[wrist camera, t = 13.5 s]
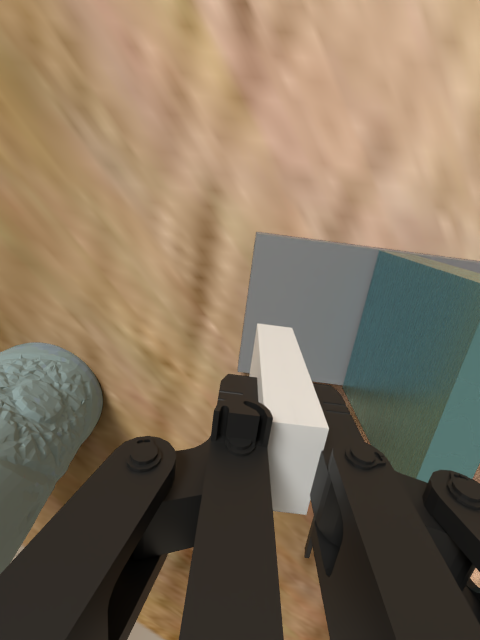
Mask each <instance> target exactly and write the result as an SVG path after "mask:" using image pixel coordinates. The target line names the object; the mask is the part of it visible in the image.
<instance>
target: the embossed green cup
mask: <svg viewBox="0 0 480 640" xmlns="http://www.w3.org/2000/svg"><path fill="white" fill-rule="evenodd" d="M102 407H103V397H102V391H101V388H100V385H99V382H98V380H97V378H96V376H95V375H94V373H93V372H92V371H91V369H90V368H89V367H88V366H87V365H86V364H85V363H84V362H83V361H82V360H81V359H80V358H78V357H77V356H75V355H74V354H72V353H71V352H69V351H67V350H65V349H63V348H61V347H58V346H55V345H51V344H46V343H26V344H22V345H18V346H14V347H12V348H10V349H7V350H5V351H3V352H0V574H1V573H2V572H3V571H4V570H5V568H6V567H7V566H8V565H9V564H10V563H11V561H12V559H13V557H14V556H15V554H16V553H17V551H18V549H19V548H20V546H21V544H22V543H23V541H24V539H25V538H26V536H27V534H28V533H29V531H30V529H31V528H32V526H33V524H34V522H35V521H36V519H37V517H38V515H39V513H40V511H41V509H42V508H43V506H44V504H45V502H46V501H47V499H48V497H49V496H50V494H51V492H52V491H53V489H54V487H55V484H56V482H57V481H58V480H59V479H60V478H61V477H62V476H63V475H64V474H65V472H66V471H67V469H68V467H69V464H70V462H71V461H72V459H73V458H74V456H75V454H76V453H77V451H78V449H79V447H80V446H81V444H82V443H83V442H84V441H85V440H86V439H87V437H88V436H89V435H90V434H91V432H92V431H93V429H94V427H95V426H96V424H97V422H98V420H99V418H100V415H101V412H102Z"/></svg>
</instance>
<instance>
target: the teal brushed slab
mask: <svg viewBox="0 0 480 640" xmlns="http://www.w3.org/2000/svg"><path fill="white" fill-rule="evenodd" d="M342 388H343V390H344V392H345V394H346V396H347V398H348V400H349V402H350V404H351V406H352V408H353V410H354V412H355V414H356V416H357V418H358V420H359V422H360V424H361V426H362V428H363V430H364V432H365V434H366V436H367V438H368V440H369V442H370V444H371V445H372V446H374V447H375V448H376V449H378V450H379V451H380V452H382V453H383V454H384V455H385V457H386V458H387V459H388V461H389V462H390V464H391V465H392V467H393V469H394V471H397V472H399V473H401V474H404V475H407V476H410V477H413V478H415V479H418V480H421V481H424V482H427V483H428V481H429V479H430V477H431V475H432V473H433V472H435V471H438V470H451V471H454V472H457V473H460V474H463V475H465V476H467V477H469V478H471V479H472V478H473V476H474V474H475V472H476V470H477V468H478V466H479V464H480V273H477V272H473V271H470V270H466V269H463V268H459V267H455V266H452V265H448V264H445V263H441V262H438V261H434V260H431V259H427V258H424V257H420V256H417V255H412V254H405V253H397V252H389V251H382V250H379V253H378V257H377V261H376V264H375V268H374V272H373V276H372V279H371V283H370V287H369V291H368V294H367V298H366V302H365V305H364V309H363V313H362V317H361V320H360V324H359V328H358V331H357V335H356V339H355V343H354V346H353V350H352V354H351V357H350V361H349V365H348V369H347V372H346V376H345V380H344V383H343V387H342Z"/></svg>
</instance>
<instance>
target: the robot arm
mask: <svg viewBox="0 0 480 640" xmlns="http://www.w3.org/2000/svg"><path fill="white" fill-rule="evenodd" d="M310 499H311V503H312V508H313V512H314V517H313V521H312V524H311V528H310V532H309V535H308V539H307V542H306V546H305V558H309V557H310V553H311V550H312V546H313V551H314V556H315V561H316V567H317V572H318V577H319V583H320V588H321V593H322V599H323V604H324V609H325V615H326V620H327V625H328V631H329V636H330V640H480V588H479V587H477V586H476V585H475V583H474V582H473V581H472V580H471V579H470V577H471V575H472V573H473V571H474V570H475V568H477V569H478V571H479V572H480V484H479V483H478V482H476V481H474V480H473V479H471V478H469V477H467V476H465V475H463V474H460V473H457V472H454V471H451V470H438V471H435V472H433V473H432V475H431V477H430V479H429V481H428V483H427V482H424V481H421V480H418V479H415V478H413V477H410V476H407V475H404V474H401V473H399V472H397V471H394V469H393V467H392V465H391V464H390V462H389V461H388V459H387V458H386V457H385V455H384V454H383V453H382V452H380V451H379V450H378V449H376V448H375V447H374V446H372V445H370V444H368V443H365V442H364V440H363V438H362V436H361V434H360V432H359V430H358V428H357V426H356V424H355V422H354V420H353V418H352V416H351V415H350V412H349V410H348V408H347V406H346V404H345V402H344V400H343V398H342V396H341V394H340V393H339V392H337V391H336V390H335V389H334V388H333V387H332V386H331V385H323V384H315V383H312V381H311V378H310V375H309V373H308V370H307V367H306V364H305V362H304V359H303V356H302V353H301V351H300V348H299V345H298V343H297V340H296V337H295V334H294V332H293V329H292V328H290V327H282V326H274V325H266V324H258V323H257V329H256V335H255V342H254V348H253V355H252V362H251V368H250V375H249V376H241V375H233V374H228V375H227V376H226V377H225V378H224V379H223V380H222V381H221V384H220V390H219V396H218V403H217V406H216V408H215V410H214V415H213V424H212V432H211V436H210V438H209V439H208V440H207V441H206V442H204V443H203V444H202V445H199V446H197V447H195V448H191V449H187V450H180V451H175V449H174V448H173V447H172V446H171V444H170V443H169V442H167V441H165V440H163V439H161V438H158V437H151V436H145V437H136V438H134V439H131V440H129V441H126V442H124V443H123V444H122V445H121V446H119V447H118V448H117V449H116V450H115V451H114V452H113V453H112V454H111V455H110V456H109V457H108V458H107V459H106V460H105V461H104V463H103V464H102V465H101V466H100V467H99V468H98V469H97V470H96V471H95V472H94V473H93V474H92V475H91V477H90V478H89V479H88V480H87V481H86V482H85V483H84V484H83V485H82V486H81V487H80V488H79V490H78V491H77V492H76V493H75V494H74V495H73V496H72V497H71V498H70V499H69V500H68V501H67V503H66V504H65V505H64V506H63V507H62V508H61V509H60V510H59V511H58V512H57V513H56V514H55V516H54V517H53V518H52V519H51V520H50V521H49V522H48V523H47V524H46V525H45V526H44V527H43V528H42V530H41V531H40V532H39V533H38V534H37V535H36V536H35V537H34V538H33V539H32V540H31V541H30V543H29V544H28V545H27V546H26V547H25V548H24V549H23V550H22V551H21V552H20V553H19V554H18V556H17V557H16V558H15V559H14V560H13V561H12V562H11V563H10V564H9V565H8V566H7V567H6V568H5V570H4V571H3V572H2V573H1V574H0V640H127V639H128V637H129V635H130V632H131V630H132V628H133V626H134V624H135V622H136V620H137V618H138V616H139V614H140V612H141V609H142V607H143V605H144V603H145V601H146V599H147V597H148V595H149V593H150V591H151V589H152V587H153V584H154V582H155V580H156V578H157V576H158V574H159V572H160V570H161V568H162V566H163V564H164V561H165V559H166V557H167V554H168V553H171V552H175V551H179V550H183V549H187V548H191V547H194V548H193V554H192V561H191V567H190V573H189V579H188V586H187V592H186V598H185V605H184V611H183V617H182V623H181V630H180V636H179V640H284V639H283V627H282V615H281V603H280V591H279V579H278V567H277V555H276V543H275V532H274V520H273V511H278V512H287V513H295V514H304V515H306V514H307V510H308V506H309V503H310Z"/></svg>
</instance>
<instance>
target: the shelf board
mask: <svg viewBox="0 0 480 640" xmlns="http://www.w3.org/2000/svg"><path fill="white" fill-rule="evenodd" d="M379 250H382V251H389V252H397V253H405V254H412V255H417V256H420V257H424V258H427V259H431V260H434V261H438V262H441V263H445V264H448V265H452V266H455V267H459V268H463V269H466V270H470V271H473V272H477V273H480V261H474V260H466V259H459V258H451V257H443V256H436V255H428V254H421V253H413V252H406V251H398V250H390V249H383V248H375V247H368V246H360V245H353V244H345V243H337V242H330V241H322V240H315V239H307V238H300V237H292V236H284V235H277V234H269V233H262V232H256V238H255V245H254V253H253V260H252V267H251V274H250V282H249V289H248V296H247V304H246V311H245V318H244V325H243V333H242V340H241V347H240V355H239V362H238V372H244V373H250V368H251V362H252V355H253V348H254V342H255V335H256V329H257V323H258V324H266V325H274V326H282V327H290V328H292V329H293V332H294V334H295V337H296V340H297V343H298V345H299V348H300V351H301V353H302V356H303V359H304V362H305V364H306V367H307V370H308V373H309V375H310V378H311V381H314V382H321V383H329V384H337V385H343V383H344V380H345V376H346V372H347V369H348V365H349V361H350V357H351V354H352V350H353V346H354V343H355V339H356V335H357V331H358V328H359V324H360V320H361V317H362V313H363V309H364V305H365V302H366V298H367V294H368V291H369V287H370V283H371V279H372V276H373V272H374V268H375V264H376V261H377V257H378V253H379Z"/></svg>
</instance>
